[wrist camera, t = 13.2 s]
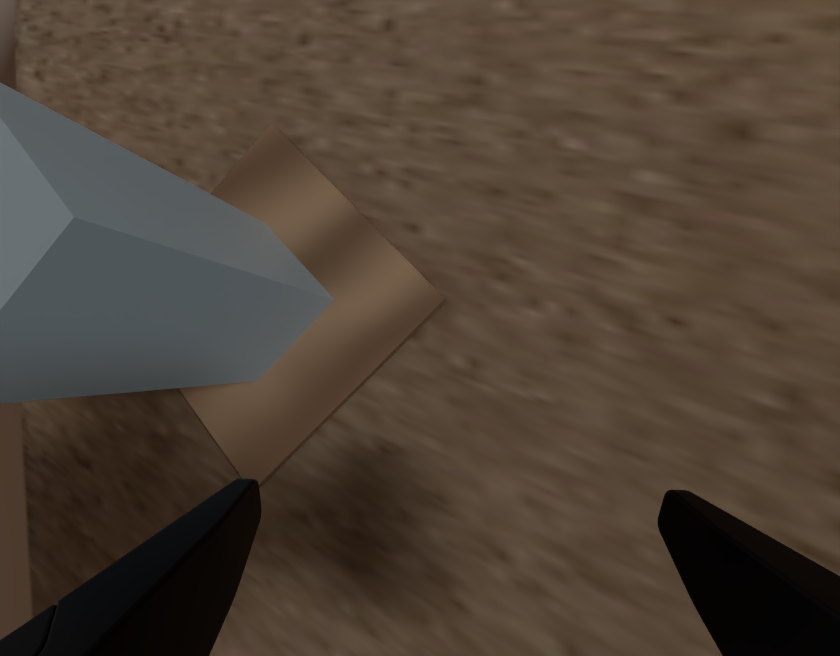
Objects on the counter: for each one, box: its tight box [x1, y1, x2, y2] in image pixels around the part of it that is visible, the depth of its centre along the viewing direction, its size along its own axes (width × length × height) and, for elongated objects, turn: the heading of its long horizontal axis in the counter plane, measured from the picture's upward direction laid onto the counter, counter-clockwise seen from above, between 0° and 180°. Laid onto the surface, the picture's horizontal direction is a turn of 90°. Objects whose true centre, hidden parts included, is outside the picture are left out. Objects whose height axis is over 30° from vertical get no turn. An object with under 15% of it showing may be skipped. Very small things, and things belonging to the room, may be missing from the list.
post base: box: [178, 123, 447, 488], centre depth 19 cm, size 14×14×5 cm
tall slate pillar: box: [0, 83, 334, 404], centre depth 15 cm, size 6×6×12 cm
